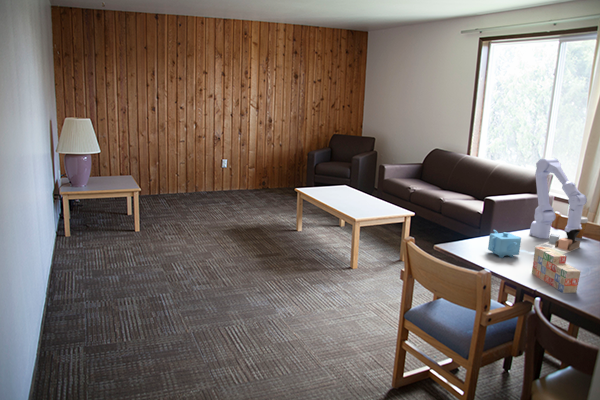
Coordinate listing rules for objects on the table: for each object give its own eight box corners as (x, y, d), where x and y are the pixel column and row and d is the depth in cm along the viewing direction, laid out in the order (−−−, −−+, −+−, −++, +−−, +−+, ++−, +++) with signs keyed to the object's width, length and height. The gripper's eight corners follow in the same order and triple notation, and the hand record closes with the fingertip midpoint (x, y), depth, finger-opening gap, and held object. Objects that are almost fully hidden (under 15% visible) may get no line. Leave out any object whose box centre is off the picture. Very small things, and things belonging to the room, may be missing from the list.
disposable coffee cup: (583, 237, 267) (587, 216, 264) (585, 241, 258) (589, 220, 256) (564, 234, 271) (568, 214, 268) (565, 238, 262) (569, 217, 259)
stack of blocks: (577, 293, 190) (582, 264, 187) (562, 293, 189) (567, 264, 186) (544, 272, 211) (548, 246, 208) (531, 273, 210) (535, 246, 207)
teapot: (499, 261, 223) (502, 238, 220) (477, 249, 240) (480, 227, 237) (528, 260, 226) (532, 237, 223) (505, 247, 243) (508, 226, 241)
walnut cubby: (554, 247, 243) (555, 241, 243) (564, 243, 250) (565, 237, 249) (569, 251, 238) (570, 244, 237) (579, 247, 244) (580, 241, 244)
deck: (533, 248, 243) (533, 246, 243) (551, 242, 255) (552, 240, 255) (562, 256, 232) (562, 254, 232) (579, 249, 244) (580, 247, 244)
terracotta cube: (557, 247, 242) (559, 239, 241) (561, 246, 245) (563, 237, 244) (567, 250, 239) (568, 241, 238) (571, 248, 242) (572, 240, 241)
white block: (548, 242, 250) (549, 235, 249) (550, 241, 253) (551, 233, 252) (557, 244, 248) (558, 237, 247) (558, 242, 251) (559, 235, 250)
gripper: (576, 221, 235) (572, 247, 238) (589, 217, 244) (584, 242, 247) (562, 218, 240) (557, 243, 243) (574, 214, 249) (570, 239, 252)
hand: (570, 243), depth 245 cm, fingers closed
